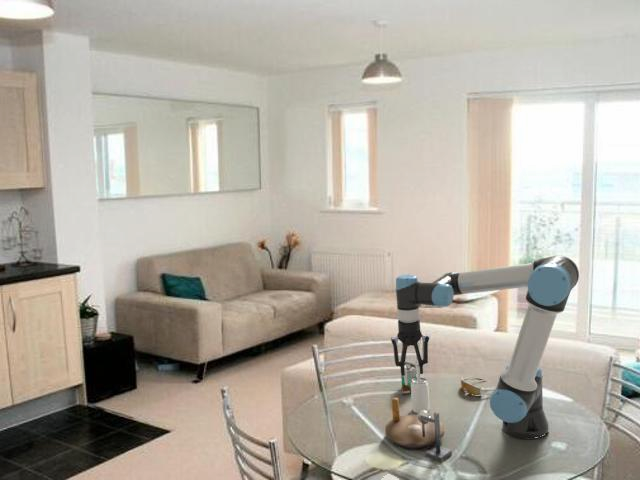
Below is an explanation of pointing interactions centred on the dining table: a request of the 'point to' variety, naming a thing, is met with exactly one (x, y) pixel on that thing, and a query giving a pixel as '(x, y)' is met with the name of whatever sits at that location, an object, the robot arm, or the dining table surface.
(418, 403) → the can
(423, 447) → the turntable base
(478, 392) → the sunglasses
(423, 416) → the dial indicator stand
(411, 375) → the food container
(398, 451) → the dining table surface
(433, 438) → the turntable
